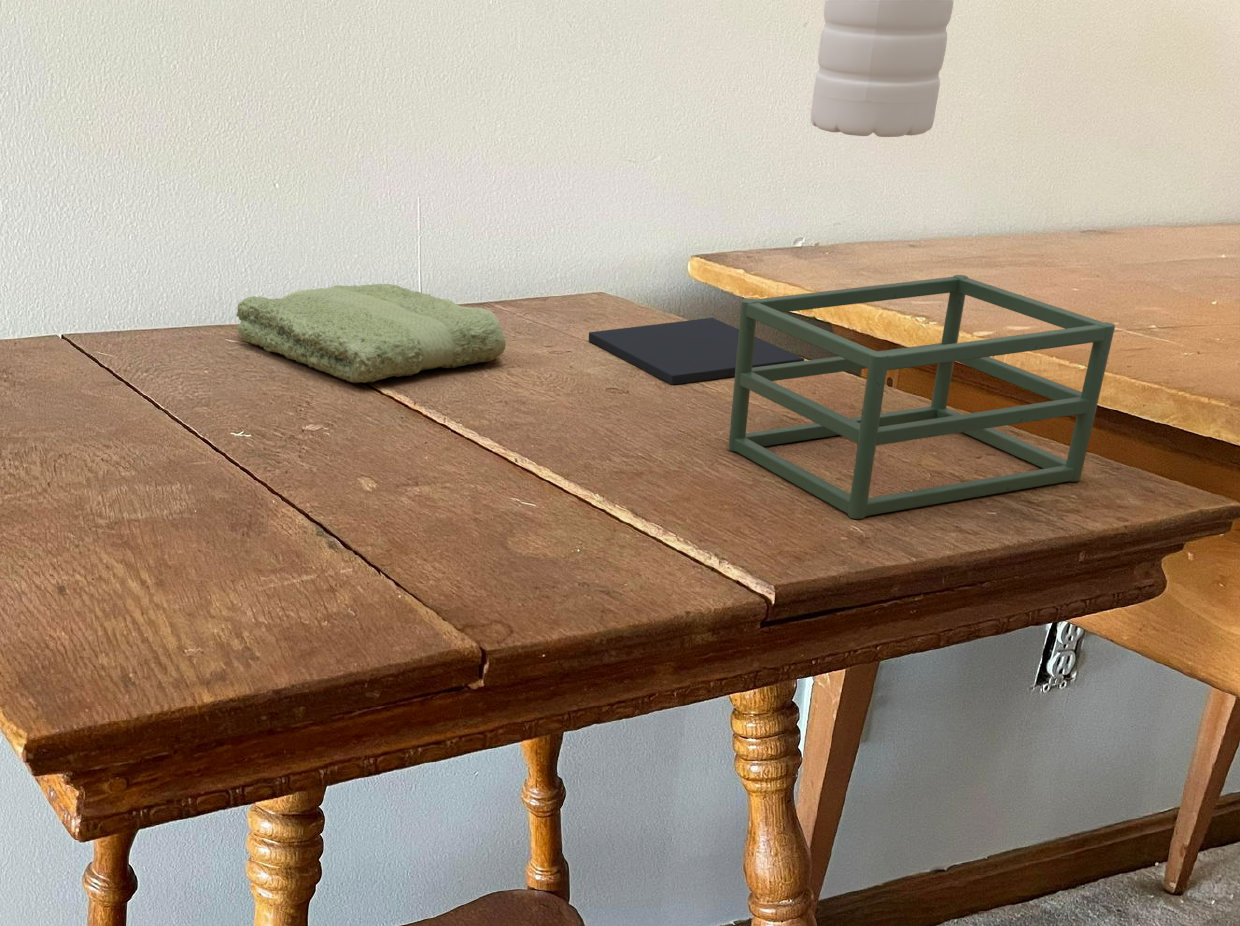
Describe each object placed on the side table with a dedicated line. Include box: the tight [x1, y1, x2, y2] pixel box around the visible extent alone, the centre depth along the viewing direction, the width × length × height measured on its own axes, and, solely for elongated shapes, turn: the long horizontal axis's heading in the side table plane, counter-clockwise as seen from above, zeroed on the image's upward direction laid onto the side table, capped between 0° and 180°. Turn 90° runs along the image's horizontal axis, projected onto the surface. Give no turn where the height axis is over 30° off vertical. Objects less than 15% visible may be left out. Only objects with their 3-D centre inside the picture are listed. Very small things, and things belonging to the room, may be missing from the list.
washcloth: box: [235, 283, 507, 383], centre depth 104 cm, size 13×18×3 cm
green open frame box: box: [728, 274, 1116, 520], centre depth 83 cm, size 13×15×8 cm
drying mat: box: [588, 317, 805, 386], centre depth 104 cm, size 12×10×1 cm
